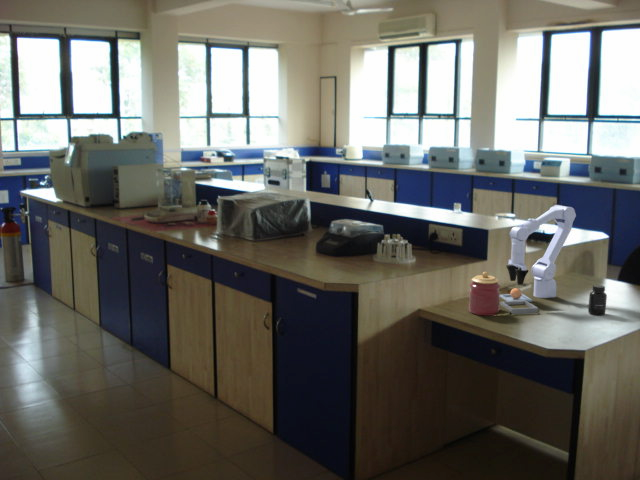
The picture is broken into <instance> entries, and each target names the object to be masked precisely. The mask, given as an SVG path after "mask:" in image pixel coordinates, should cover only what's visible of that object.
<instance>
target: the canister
mask: <svg viewBox="0 0 640 480" xmlns="http://www.w3.org/2000/svg"><path fill="white" fill-rule="evenodd" d="M499 282H500V281H499V279H498V278H497V277H495V276H493V275H489V273H488V272H487V271H483V272H482V274H478V275H475V276H474V277H472V278H471V282H470V283H469V287H470V290H469V291H468V294H469V297H468V300H469V303H468V311H469V312H470V313H471V314H473V315H476V316H477V315H478V316H495V315H497V314H499V311H500V298H501V297H500V295H501V293H500V288H501V285H500V284H499Z"/></svg>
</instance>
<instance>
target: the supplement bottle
mask: <svg viewBox="0 0 640 480" xmlns="http://www.w3.org/2000/svg"><path fill="white" fill-rule="evenodd" d="M605 291H606V287H605V286H604V285H601V284H600V285H599V284H594V285H592V291H591V292H589V295H588V296H589V297H588V298H589V299H588V306H587V308H588V309H587V312H588V314H590V315H593V316H605V314H606V309H607V298H608V296H607V293H606V292H605Z"/></svg>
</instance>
